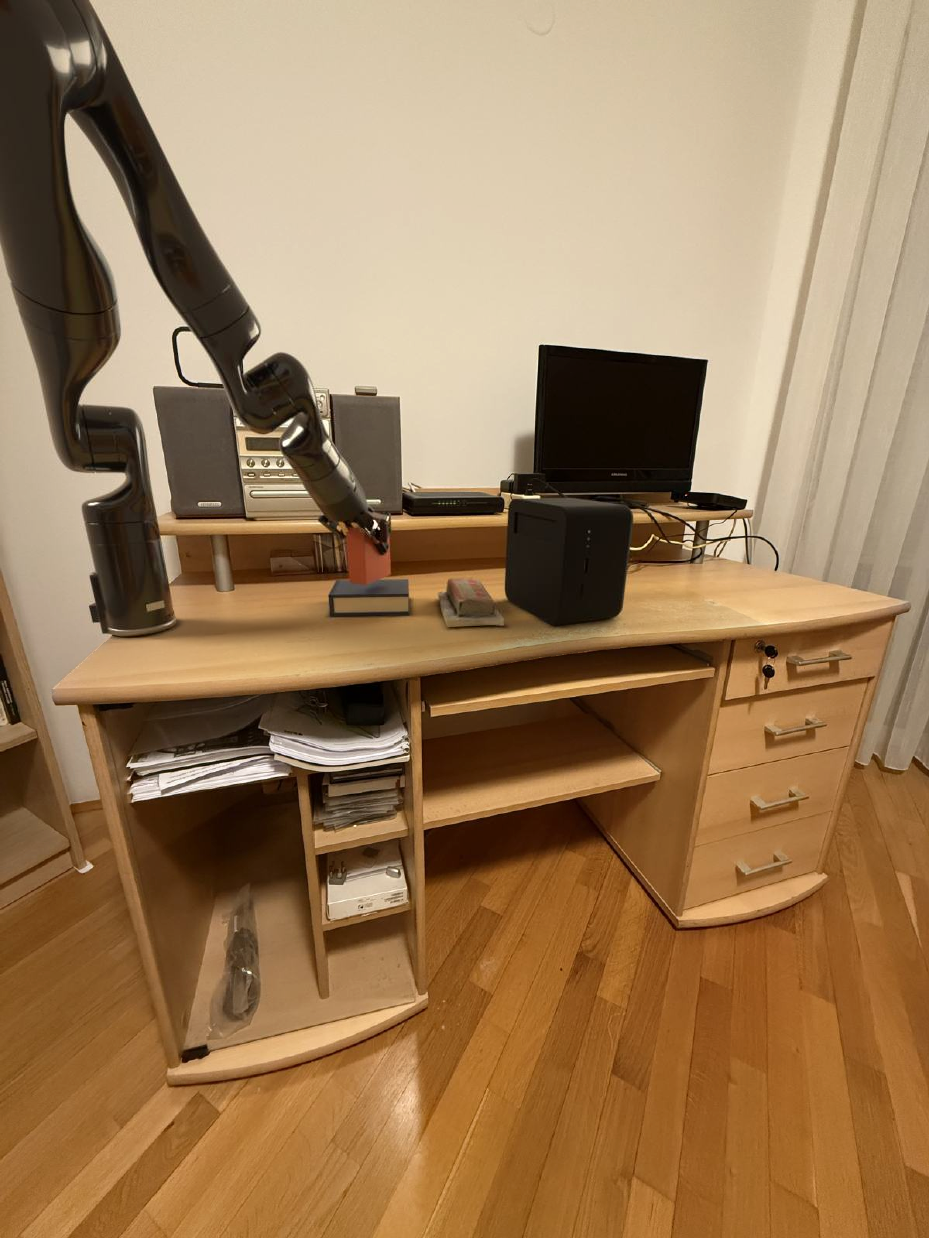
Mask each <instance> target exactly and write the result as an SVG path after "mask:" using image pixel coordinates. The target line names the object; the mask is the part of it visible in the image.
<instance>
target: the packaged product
mask: <svg viewBox="0 0 929 1238" xmlns="http://www.w3.org/2000/svg"><path fill="white" fill-rule="evenodd" d="M445 587H446V588H445V592H444V591H438V592H437V597H438V600H439V605H440V610H441V614H442V618H443V619H444V621H445V624H446V627H447V628H456V627H472V626H473V627H475V626H476V627H477V626H480V627H481V626H500V627H501V626H503V627H504V625H505V618H504V617H503V615H502V614H501V613H500V612H499V610H498V608H497V604H496V602H495V601H494V600H493V598H492V596H491V595H490V594H489V592H488V591H487V589H486V588H485V586H484V585H483V583H482V581H480V580H479V579H477V578H475V577H452V578H447V582H446V586H445Z"/></svg>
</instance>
